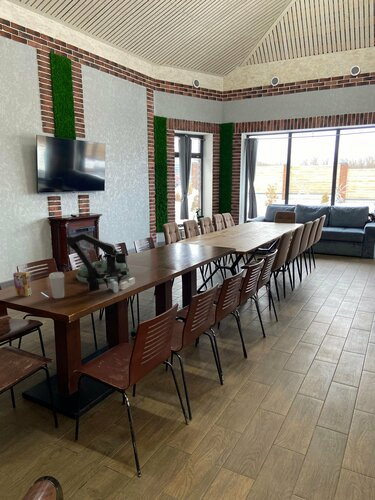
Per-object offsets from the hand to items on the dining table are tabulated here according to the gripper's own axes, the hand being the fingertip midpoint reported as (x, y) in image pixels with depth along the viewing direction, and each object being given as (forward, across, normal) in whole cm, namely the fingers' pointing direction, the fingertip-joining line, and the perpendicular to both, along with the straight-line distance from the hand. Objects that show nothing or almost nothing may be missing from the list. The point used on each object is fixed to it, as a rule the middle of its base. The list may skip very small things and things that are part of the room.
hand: (112, 286), depth 244 cm
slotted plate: (+1, 0, -4) cm, 4 cm away
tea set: (+2, +2, +37) cm, 38 cm away
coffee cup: (+2, -34, +1) cm, 34 cm away
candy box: (+2, -54, +15) cm, 56 cm away
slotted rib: (+1, +10, 0) cm, 10 cm away
